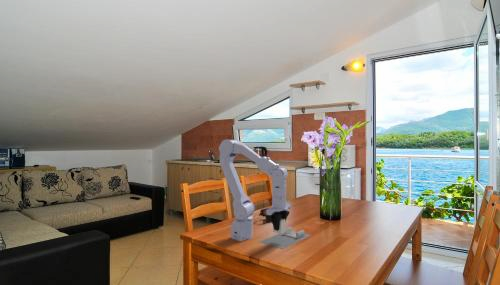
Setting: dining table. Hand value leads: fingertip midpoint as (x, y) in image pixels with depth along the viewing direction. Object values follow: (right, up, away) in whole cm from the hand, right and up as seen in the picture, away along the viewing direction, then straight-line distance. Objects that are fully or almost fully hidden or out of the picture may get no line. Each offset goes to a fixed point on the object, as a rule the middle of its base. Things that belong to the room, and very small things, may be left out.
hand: (278, 229), depth 124 cm
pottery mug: (-2, -6, +33) cm, 33 cm away
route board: (+3, -6, +4) cm, 8 cm away
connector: (0, -1, 0) cm, 1 cm away
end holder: (+7, -6, +8) cm, 13 cm away
